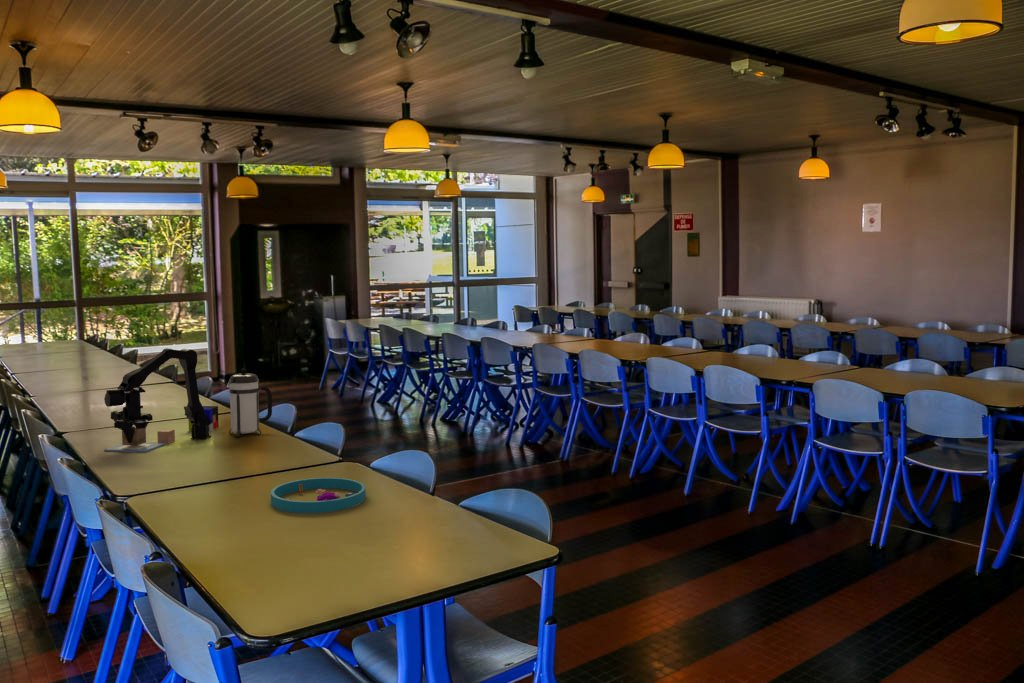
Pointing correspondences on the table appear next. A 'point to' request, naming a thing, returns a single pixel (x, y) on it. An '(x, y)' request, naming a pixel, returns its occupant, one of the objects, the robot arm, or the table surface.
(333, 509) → the teal ring
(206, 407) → the puzzle toy
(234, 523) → the table surface
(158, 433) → the terracotta block
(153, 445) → the mat
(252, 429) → the coffee press
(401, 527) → the table surface
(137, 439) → the walnut block
